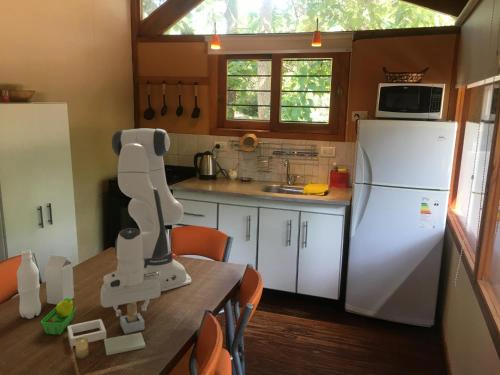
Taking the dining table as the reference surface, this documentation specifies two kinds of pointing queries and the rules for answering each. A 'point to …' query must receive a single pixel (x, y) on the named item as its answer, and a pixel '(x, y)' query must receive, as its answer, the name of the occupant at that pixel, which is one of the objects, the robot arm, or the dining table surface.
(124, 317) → the socket block
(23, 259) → the water bottle
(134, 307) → the dowel
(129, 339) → the plate board
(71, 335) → the tray
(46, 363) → the dining table surface
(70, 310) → the fruit basket
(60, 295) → the milk carton
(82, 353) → the cylinder
